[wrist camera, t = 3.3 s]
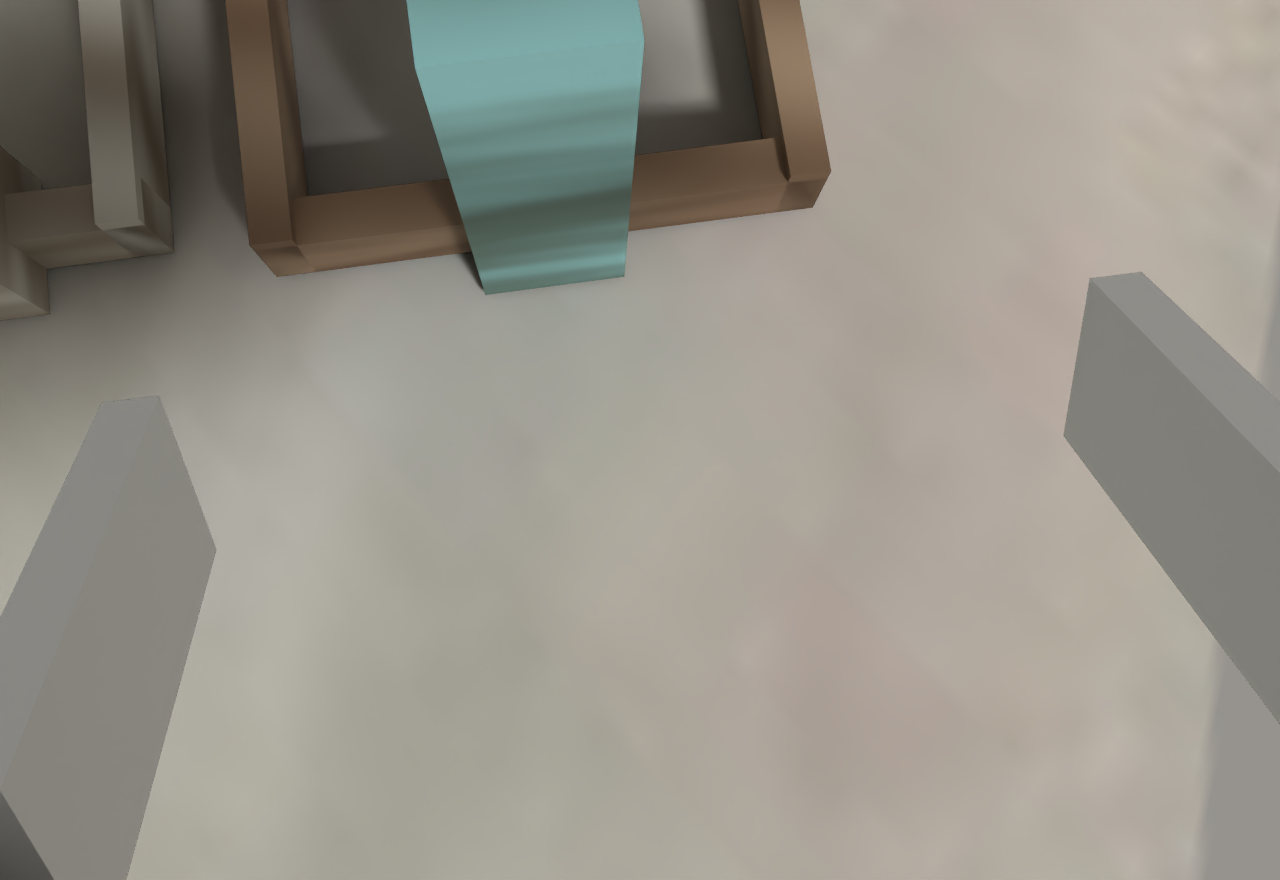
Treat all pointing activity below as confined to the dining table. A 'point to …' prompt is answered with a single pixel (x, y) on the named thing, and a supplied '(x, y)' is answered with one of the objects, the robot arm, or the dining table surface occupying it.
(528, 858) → the dining table surface
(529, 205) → the brown open boxy piece
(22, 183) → the block
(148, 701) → the robot arm
